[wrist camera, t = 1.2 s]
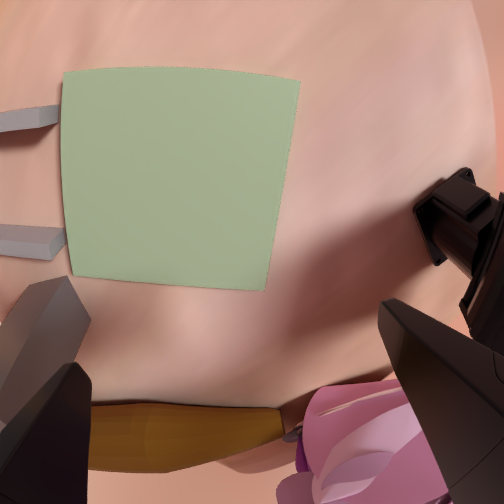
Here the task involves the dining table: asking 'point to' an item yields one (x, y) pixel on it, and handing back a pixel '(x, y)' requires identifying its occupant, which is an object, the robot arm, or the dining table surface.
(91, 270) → the two-tone flat tray
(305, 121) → the dining table surface
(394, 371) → the robot arm
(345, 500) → the flower arrangement
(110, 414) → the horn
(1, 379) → the chute block
